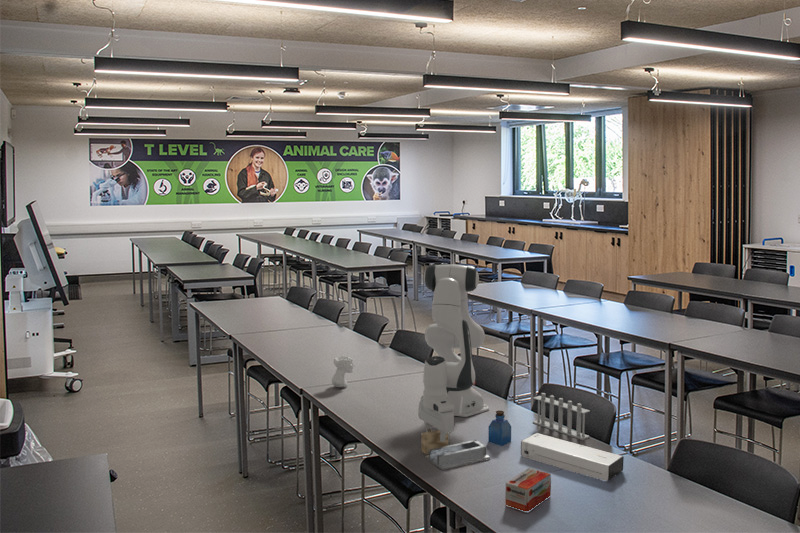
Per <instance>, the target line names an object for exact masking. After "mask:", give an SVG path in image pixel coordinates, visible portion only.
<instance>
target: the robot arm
mask: <svg viewBox="0 0 800 533" xmlns="http://www.w3.org/2000/svg"><path fill="white" fill-rule="evenodd" d="M479 276H480V275H479V273H478V269H477V268H476V267H475V266H472V265H464V264H456V263H455V264H454V263H452V264H448V263H447V264H436V263H435V264H429V265H428V266H427V267H426V269H425V271H424V274H423V281H424V286H425V287H426V288H427V289H429V290H430V291H431V292H433V298H432V303H431V304H432V306H431V318H432V320H433V322H434V323H431V324H429V325H428V326H427V328H426V329H425V332H424V340H425V343H427V345H428V346H429V347H430V348H432V350H434V352H435V353H436V354H437V355H434V356H430V357H428V358H426V359H425V360H424V365H423V376H422V377H423V378H422V380H423V382H422V383H423V385H424V387H423V394H422V396H421V397H420V401H419V403H418V409H417V410H418V412H417V416H418V418H419V419H420V420H421V421H423V425H424V427H425V432H430V431H433V429H432V427H433V428H435V429H436V430H440V433H441V435H440V436H439V441H441V442H444V441H445V436H446V434H447V433H451V432H453V431H454V427H455V417H462V418H467V417H470V416H473V415H479V414H480V413H484V412H486V411H489V410H490V408H489V406H488V404H486V403H484V402H485V401H484V398H483V395H482V394H481V393H480V392H479V391H477V390H476V389H474V387H473V386H474V385H476V371H475V367H474V360H473V352H472V349H477V348H480V347H482V346H483V343H484V342H485V340H486V339H485V338H486V336H485V335H486V334H485V331H484V328H483V327H482V326H481V325H480V324H478V323H477V322H475V321H474V319H473V318H472V317H471V315H470V312H469V306H468V301H469V300H468V292H469V293H470V292H473V291H475V290H476V289H477V287H478V284H479V282H480V281H479V280H480V277H479ZM455 349H459V351H460V352H459V353H460V354H459V355H458V354H456V353H455V352H454V350H455ZM431 426H432V427H431Z"/></svg>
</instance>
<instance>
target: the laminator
mask: <svg viewBox="0 0 800 533" xmlns="http://www.w3.org/2000/svg"><path fill="white" fill-rule="evenodd" d="M520 455H521V457H522V458H525V457H526V458H525V459H528V458H529V460H532V461H535V460H536V462H538V461H539V463H541V462H542V463H543V464H545V463H546V465H548V464H549V466H551V465H553V466H552V467H555V466H556V467H555V468H558V467H559V469H561V468H562V470H565V471H568V470H569V471H568V472H571V471H572V472H571V473H575V472H576V473H575V474H578V473H580V474H579V475H581V474H584V475H583V476H585V475H588V476H590V477H589V478H591V477H594V478H593V479H595V478H598V479H602V480H606V481H608V482H609V481H610V480H612V479H613V478H615V477H616V476H617V475H619V474H620V473H622V472H623V470H624V459H625V458H624V456H623V455H620V454H616V453H612V452H610V451H609V452H608V451H604V450H601V449H597V448H594V447H590V446H586V445H583V444H579V443H575V442H571V441H567V440H564V439H561V438H558V437H553V436H550V435H546V434H544V433H543V434H542V433H539V432H535V433H534V434H532V435H530V436H528V437H526V438H524V439H522V440H521V441H520ZM621 471H622V472H621ZM618 473H619V474H618ZM615 475H616V476H615ZM588 476H587V477H588ZM611 478H612V479H611ZM598 479H597V480H598Z"/></svg>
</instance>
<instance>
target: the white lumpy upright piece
mask: <svg viewBox="0 0 800 533" xmlns="http://www.w3.org/2000/svg"><path fill="white" fill-rule="evenodd" d="M333 365H334V366H335V367H336V370H335V373H334V375H333V376H332V378H331V384H332V385H333V387H335V388H347V387H348V382H347V380H346V378H345V375H346V373H347V374H351V373H353V371H354V367H355V364H354V362H353V358H351V357H349V356H346V355H341V356H338V357H334V358H333Z"/></svg>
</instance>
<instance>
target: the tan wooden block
mask: <svg viewBox="0 0 800 533" xmlns="http://www.w3.org/2000/svg"><path fill="white" fill-rule="evenodd" d="M449 433H450V432H449ZM449 433H447V434H446V436H445V441H444V442H441V441H439V436H440V435H441V433H440V430H438V429H436V430H432V431H430V432H426V431H425V432H421V436H420V437H421V438H420V439H421V442H420V444H421V447H420V448H421V452H422V453H423V454H424V455H428V454H429V450H430V449H434V448H439V447H444V446H448V445H449Z"/></svg>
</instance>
